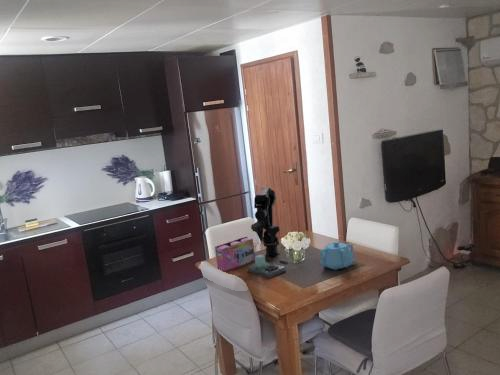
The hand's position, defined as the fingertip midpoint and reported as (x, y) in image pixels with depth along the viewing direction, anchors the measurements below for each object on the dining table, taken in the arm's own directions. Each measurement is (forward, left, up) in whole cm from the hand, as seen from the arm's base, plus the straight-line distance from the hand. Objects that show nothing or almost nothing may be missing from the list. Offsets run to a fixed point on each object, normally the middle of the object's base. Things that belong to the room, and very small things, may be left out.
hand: (266, 242), depth 253 cm
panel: (+10, +9, -12) cm, 18 cm away
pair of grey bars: (-2, +7, -12) cm, 14 cm away
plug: (+10, +4, -13) cm, 17 cm away
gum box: (+12, -15, -13) cm, 23 cm away
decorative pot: (-17, +37, -13) cm, 43 cm away
